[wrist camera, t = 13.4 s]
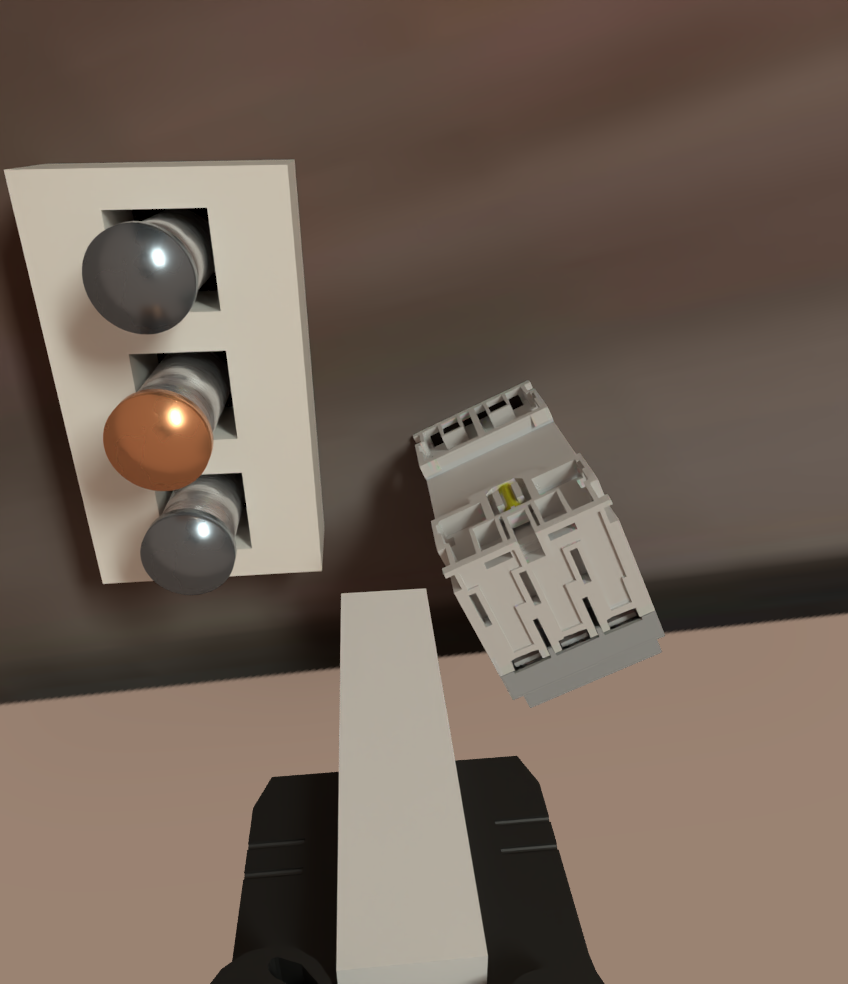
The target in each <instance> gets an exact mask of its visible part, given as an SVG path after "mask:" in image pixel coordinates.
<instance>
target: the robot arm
mask: <svg viewBox="0 0 848 984" xmlns="http://www.w3.org/2000/svg"><path fill="white" fill-rule="evenodd" d="M339 725H340V726H339V772H331V773H318V774H306V775H293V776H280V777H272V778H271V780H270V781H269V783H268V785H267V786H266V788H265V790H264V792H263V793H262V795H261V796H260V798H259V799H258V801H257V803H256V804H255V806H254V808H253V813H252V821H251V828H250V835H249V842H248V844H249V848H248V850H247V857H246V865H245V872H244V873H245V877H244V880H243V886H242V894H241V901H240V908H239V916H238V923H237V930H236V938H235V945H234V952H233V960H232V962H231V963H230V964H228V965H227V966H225V967H224V968H222V969H221V970H220V972H219V973H218V974H217V975H216V977H215V978H214V979H213V981H212V982H211V983H210V984H604V982H603V981H602V979H601V978H600V976H599V975H598V974H597V972H596V970H595V968H594V965H593V963H592V960H591V958H590V956H589V953H588V950H587V946H586V943H585V939H584V936H583V932H582V929H581V925H580V922H579V919H578V915H577V912H576V908H575V905H574V902H573V898H572V894H571V891H570V887H569V884H568V881H567V877H566V874H565V870H564V867H563V863H562V860H561V856H560V853H559V850H557V845H556V839H555V836H554V832H553V829H552V825H551V822H549V815H548V812H547V808H546V805H545V801H544V798H543V794H542V791H541V787H540V784H539V782H538V781H537V780H536V778H535V777H534V776H533V775H532V774H531V772H530V771H529V770H528V769H527V767H526V766H525V765H524V764H523V763H522V761H521V760H520V759H519V758H518V757H517V756H511V757H510V756H509V757H496V758H484V759H472V760H471V759H470V760H458V761H455V758H454V752H453V746H452V740H451V734H450V728H449V722H448V716H447V710H446V704H445V698H444V692H443V686H442V681H441V675H440V669H439V663H438V657H437V651H436V645H435V639H434V633H433V627H432V621H431V615H430V609H429V603H428V597H427V591H426V588H424V589H407V590H391V591H374V592H357V593H341V644H340V724H339Z"/></svg>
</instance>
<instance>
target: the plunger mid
mask: <svg viewBox="0 0 848 984" xmlns="http://www.w3.org/2000/svg"><path fill="white" fill-rule="evenodd" d="M230 392H231V385H230V378H229V370H228V367H227V365H226V364H225V362H224V361H223V360H222V359H221V358H220V357H219V356H218V355H217V354H216V353H214V352H213V351H203V352H176V353H168V354H167V355H166V356H165V357H164V358H163V360H162V361H161V362H160V363H159V365H158V366H157V367H156V369H155V370H154V371H153V372H152V374H151V375H150V376H149V378H148V379H147V380H146V381H145V383H144V384H143V385H142V387H141V388H140V389H139V391H138V392H136V393H133V394H131V395H129V396H127V397H126V398H125V399H123V400H122V401H121V402H120V403H119V404H118V405H117V406H116V408H115V409H114V410H113V411H112V413H111V414H110V416H109V417H108V419H107V421H106V423H105V427H104V431H103V444H104V449H105V452H106V455H107V457H108V459H109V461H110V463H111V464H112V466H113V467H114V468H115V470H116V471H117V472H118V473H119V474H120V475H121V476H123V477H124V478H125V479H126V480H128V481H130V482H131V483H133V484H135V485H137V486H139V487H142V488H145V489H149V490H154V491H172V490H176V489H180V488H183V487H185V486H187V485H189V484H191V483H192V482H194V481H195V480H196V479H197V478H198V477H200V475H201V474H202V473H203V472H204V470H205V468H206V466H207V464H208V462H209V459H210V457H211V454H212V450H213V443H214V440H213V432H214V430H215V427H216V425H217V423H218V420H219V418H220V416H221V413H222V411H223V409H224V406H225V404H226V402H227V399H228V397H229V395H230Z"/></svg>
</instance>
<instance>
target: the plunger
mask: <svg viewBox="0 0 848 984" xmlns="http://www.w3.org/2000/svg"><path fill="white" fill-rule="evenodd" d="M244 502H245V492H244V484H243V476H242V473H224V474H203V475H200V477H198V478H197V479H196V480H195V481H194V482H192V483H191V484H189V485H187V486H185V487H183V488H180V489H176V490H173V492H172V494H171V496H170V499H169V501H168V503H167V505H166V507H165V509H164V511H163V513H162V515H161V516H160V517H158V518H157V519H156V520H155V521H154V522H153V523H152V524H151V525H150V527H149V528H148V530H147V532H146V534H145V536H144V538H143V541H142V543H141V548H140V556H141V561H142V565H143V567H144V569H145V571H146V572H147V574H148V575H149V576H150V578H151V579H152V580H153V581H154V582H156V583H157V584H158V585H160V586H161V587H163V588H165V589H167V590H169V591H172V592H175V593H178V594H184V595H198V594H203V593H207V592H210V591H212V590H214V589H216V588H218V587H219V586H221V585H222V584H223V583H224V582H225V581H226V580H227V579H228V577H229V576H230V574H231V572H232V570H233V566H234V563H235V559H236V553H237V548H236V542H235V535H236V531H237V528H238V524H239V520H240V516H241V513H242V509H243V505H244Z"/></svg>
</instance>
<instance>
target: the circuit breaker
mask: <svg viewBox="0 0 848 984" xmlns="http://www.w3.org/2000/svg"><path fill="white" fill-rule="evenodd" d="M530 389H532V386H531V383H530V381H529V380H528V381H525V382H523V383H521V384H519V385H517V386H515V387H513V388H511V389H509V390H506V391H504V392H502V393H500V394H498V395H496V396H494V397H492V398H490V399H487V400H485V401H483V402H481V403H479V404H477V405H475V406H473V407H471V408H468V409H466V410H464V411H462V412H460V413H458V414H456V415H454V416H452V417H450V418H447V419H445V420H443V421H441V422H439V423H437V424H435V425H433V426H431V427H428V428H426V429H424V430H422V431H420V432H418V433H416V434H414V435H413V438H414V440H415V442H416V443H417V442H420V441H421V442H420V443H418V444H416V445H415V448H416V453H417V458H418V462H419V467H420V469H421V471H422V473H423V475H424V477H425V478H426V480H427V484H428V489H429V493H430V498H431V503H432V507H433V512H434V516H435V519H434V520H432V521H431V524H432V529H433V534H434V539H435V544H436V548H437V551H438V553H439V555H440V557H441V559H442V561H443V562H444V564H445V566H446V567H444V568H442V570H443V574H444V576H445V578H449V577H450V578H451V582H452V587H453V591H454V594H455V596H456V598H457V600H458V601H459V603H460V605H461V607H462V609H463V610H464V612H465V614H466V616H467V618H468V619H469V621H470V623H471V625H472V627H473V629H474V630H475V632H476V634H477V636H478V638H479V639H480V641H481V643H482V645H483V647H484V648H485V650H486V652H487V654H488V656H489V657H490V659H491V661H492V663H493V665H494V666H495V668H496V670H497V672H498V674H499V676H500V677H501V679H502V681H503V683H504V685H505V686H506V688H507V690H508V692H509V694H510V696H511V697H512V699H513V700H515V699H517V698H519V697H521V696H524V697H525V699H526V701H527V703H528V705H529V707H530V708H532V707H534V706H536V705H539V704H541V703H543V702H546V701H548V700H550V699H553V698H555V697H558V696H560V695H562V694H565V693H567V692H569V691H572V690H574V689H576V688H579V687H581V686H583V685H586V684H588V683H591V682H593V681H595V680H598V679H600V678H602V677H605V676H607V675H609V674H612V673H614V672H616V671H619V670H621V669H623V668H626V667H628V666H631V665H633V664H635V663H638V662H640V661H642V660H645V659H647V658H649V657H652V656H654V655H657V654H659V653H661V652H662V651H661V649H660V646H659V643H658V641H657V639H659V638H661V637H664V636H665V634H664V632H663V629H662V627H661V624H660V622H659V619H658V617H657V614H656V612H655V609H654V607H653V604H652V602H651V599H650V596H649V594H648V591H647V589H646V586H645V584H644V581H643V579H642V576H641V574H640V571H639V569H638V566H637V564H636V561H635V559H634V556H633V554H632V551H631V549H630V546H629V544H628V541H627V539H626V536H625V534H624V531H623V529H622V526H621V524H620V521H619V519H618V518H617V516H616V515H615V513H614V512H613V510H612V509H611V507H610V505H612V501H611V499H610V497H609V496H608V494H607V495H604V493H603V491H602V488H601V486H600V483H599V481H598V479H597V477H596V476H595V474H594V472H593V471H592V470H591V468H590V467H589V465H588V464H587V462H586V461H585V460H584V458H583V457H582V455H581V454H580V453H578V454H576V453H575V452H574V450H573V449H572V448H571V446H570V445H569V443H568V442H567V440H566V439H565V437H564V436H563V434H562V433H561V432H560V430H559V429H558V427H557V426H556V424H555V423H554V421H553V418H552V416H551V414H550V411H549V409H548V407H547V405H546V404H545V403H544V401H543V400H542V398H541V397H540V395H539V394H538V393H537V391H536V390H535V388H534V389H532V390H530ZM528 390H530V391H528ZM516 395H519V397H520V399H521V401H522V403H523V406H521V407H518V408H516V409H514V410H513V409H512V407H511V405H510V402H509V399H510V398H512V397H514V396H516ZM503 400H504V401H505V402H506V405H504V406H502V407H500V408H498V409H496V410H494V411H492V412H490V410H489V408H488V407H490V406H492V405H495V404H497V403H499V402H501V401H503ZM485 410H486V412H487V415H488V416H486V417H484V418H482V419H480V420H479V418H478V416H477V414H479V413H481V412H483V411H485ZM470 417H471V419H472V421H473V423H472V424H470V425H467V426H464V424H463V422H462V421H464V420H466V419H468V418H470ZM457 422H458V423H459V425H460V427H458V428H456V429H453V430H451V431H449V432H447V433H445V434H444V432H443V429H444V428H446V427H448V426H450V425H452V424H454V423H457ZM438 432H440V434H441V437H442V439H443V441H444V443H442V444H440V445H438V446H436V447H435V446H434V444H433V442H432V439H431V437H430V436H432V435H434V434H436V433H438Z"/></svg>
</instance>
